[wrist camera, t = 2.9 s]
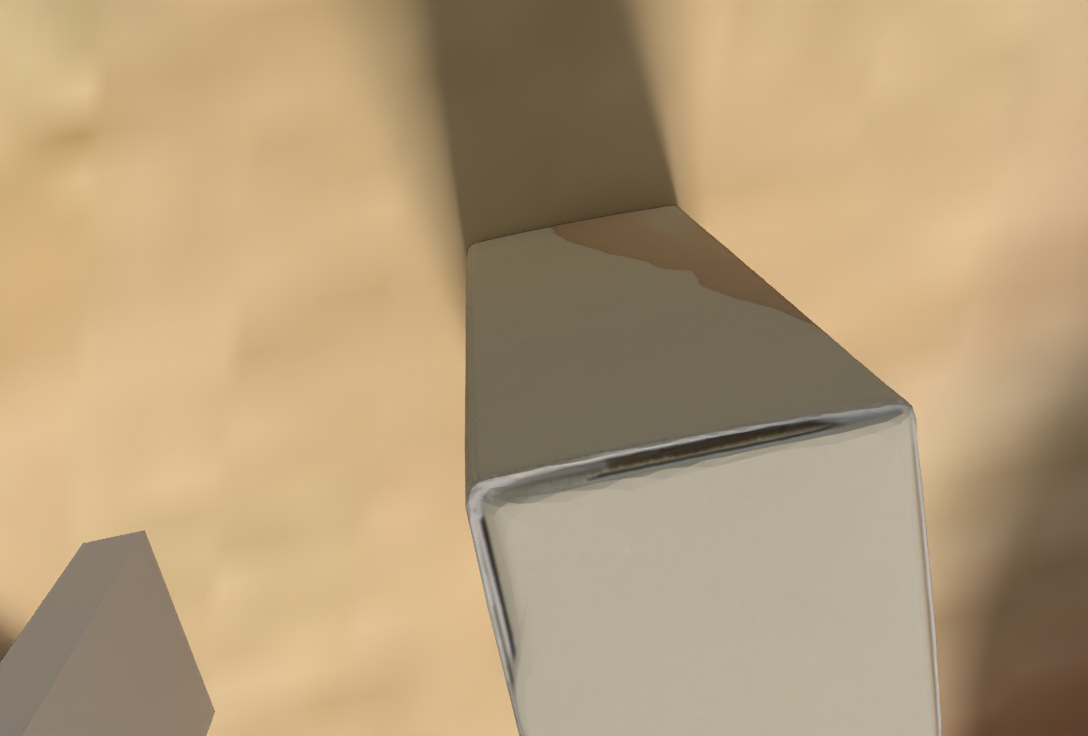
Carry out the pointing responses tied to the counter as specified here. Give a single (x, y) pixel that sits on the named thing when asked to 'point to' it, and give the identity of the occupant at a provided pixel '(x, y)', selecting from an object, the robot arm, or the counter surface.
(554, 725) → the box
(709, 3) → the counter surface
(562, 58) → the counter surface
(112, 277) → the counter surface
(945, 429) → the counter surface
